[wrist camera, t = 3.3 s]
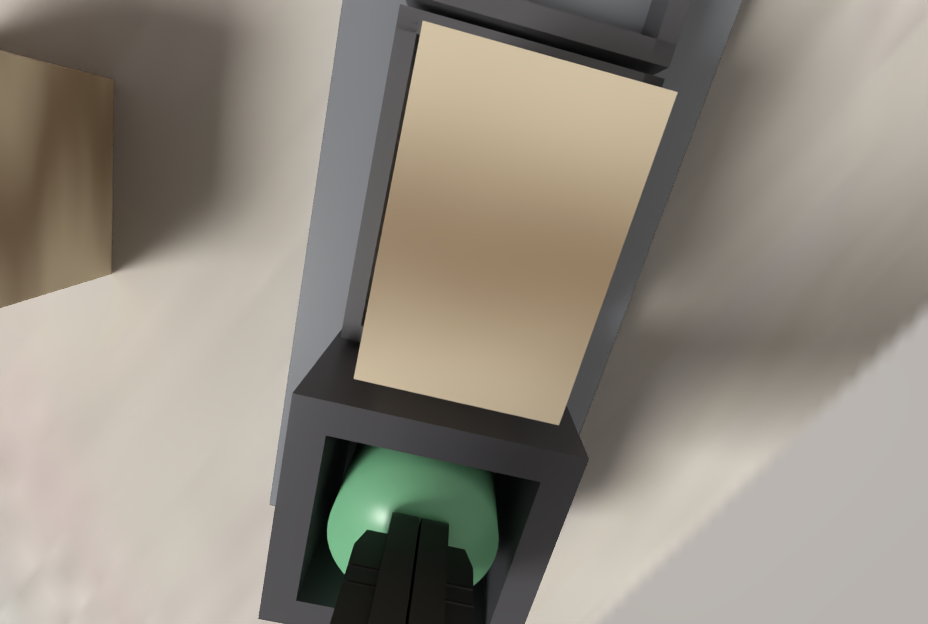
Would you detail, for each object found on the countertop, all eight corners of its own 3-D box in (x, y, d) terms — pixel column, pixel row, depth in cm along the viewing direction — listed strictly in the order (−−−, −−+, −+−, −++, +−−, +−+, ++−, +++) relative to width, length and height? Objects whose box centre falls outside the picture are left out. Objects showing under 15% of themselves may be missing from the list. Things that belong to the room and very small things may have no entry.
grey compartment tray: (417, -421, 10) (365, -1028, 5) (827, -279, 11) (1159, -686, 6) (280, 486, 18) (201, 621, 12) (529, 538, 18) (553, 687, 13)
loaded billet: (443, 86, 12) (422, 20, 7) (583, 124, 13) (678, 92, 7) (399, 293, 14) (353, 378, 9) (523, 323, 15) (558, 425, 9)
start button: (368, 390, 14) (342, 448, 11) (508, 421, 14) (519, 487, 11) (344, 506, 15) (315, 586, 12) (473, 533, 15) (474, 617, 13)
